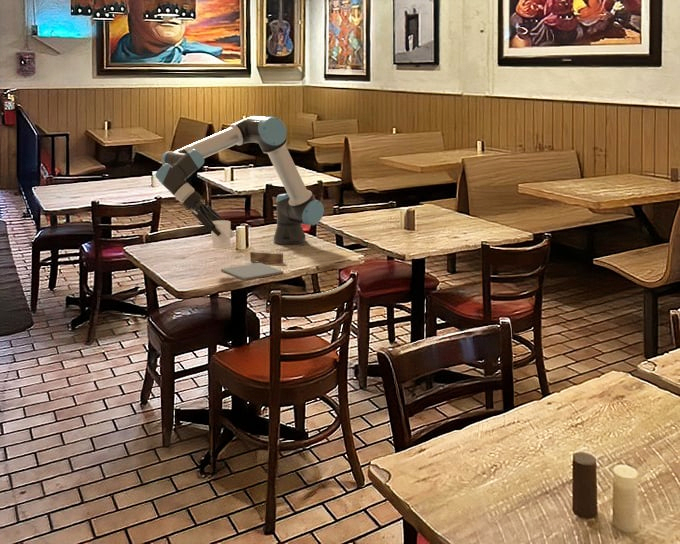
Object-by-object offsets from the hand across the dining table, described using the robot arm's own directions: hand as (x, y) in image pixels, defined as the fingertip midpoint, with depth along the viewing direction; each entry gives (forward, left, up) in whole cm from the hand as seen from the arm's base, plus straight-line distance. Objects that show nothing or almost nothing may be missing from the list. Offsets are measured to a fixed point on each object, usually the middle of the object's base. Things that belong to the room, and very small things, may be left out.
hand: (229, 238), depth 299 cm
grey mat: (-6, +6, -14) cm, 16 cm away
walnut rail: (-20, -5, -14) cm, 25 cm away
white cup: (+2, -3, -4) cm, 5 cm away
